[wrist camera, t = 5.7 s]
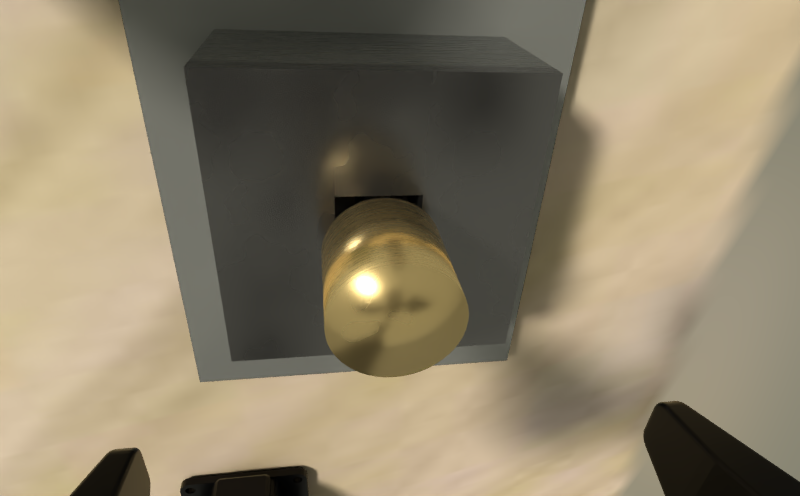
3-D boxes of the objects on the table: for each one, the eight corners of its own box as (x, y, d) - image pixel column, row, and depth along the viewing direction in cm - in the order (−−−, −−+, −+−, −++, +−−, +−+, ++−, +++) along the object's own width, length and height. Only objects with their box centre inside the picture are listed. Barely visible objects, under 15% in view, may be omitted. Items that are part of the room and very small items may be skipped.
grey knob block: (470, 267, 22) (505, 343, 18) (246, 276, 20) (231, 361, 16) (505, 37, 17) (562, 73, 13) (214, 28, 15) (183, 66, 12)
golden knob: (411, 213, 20) (466, 377, 13) (314, 216, 19) (317, 388, 12) (417, 120, 18) (488, 252, 11) (310, 120, 17) (311, 259, 10)
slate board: (500, 345, 26) (506, 360, 25) (203, 365, 24) (200, 381, 23) (606, -169, 15) (624, -174, 14) (84, -218, 13) (70, -226, 12)
